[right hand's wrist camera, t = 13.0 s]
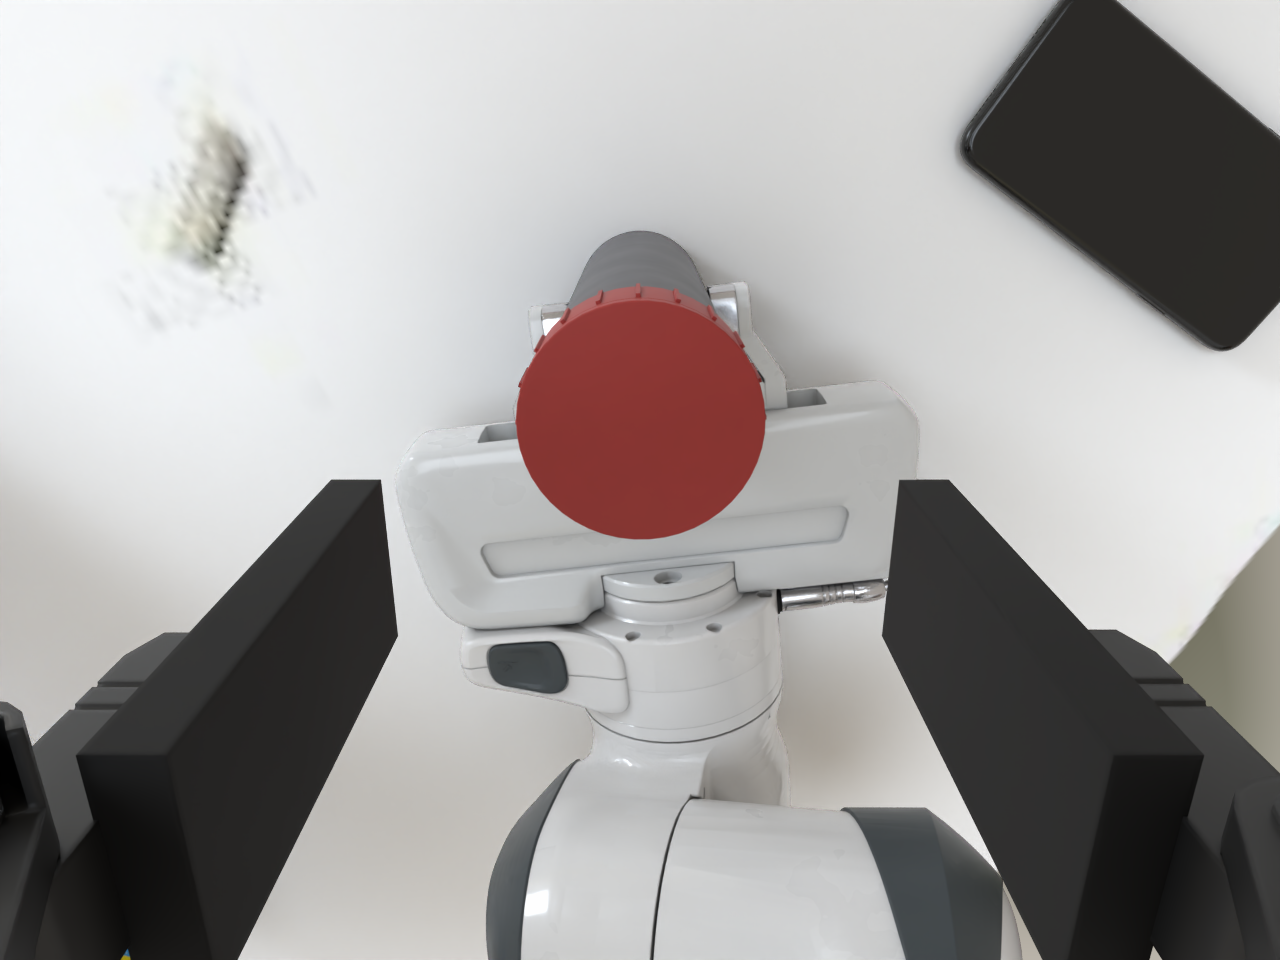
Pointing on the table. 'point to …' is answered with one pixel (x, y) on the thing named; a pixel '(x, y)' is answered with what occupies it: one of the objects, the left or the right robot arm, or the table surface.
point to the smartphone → (1139, 168)
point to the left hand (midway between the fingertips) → (636, 295)
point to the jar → (640, 267)
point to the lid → (640, 413)
